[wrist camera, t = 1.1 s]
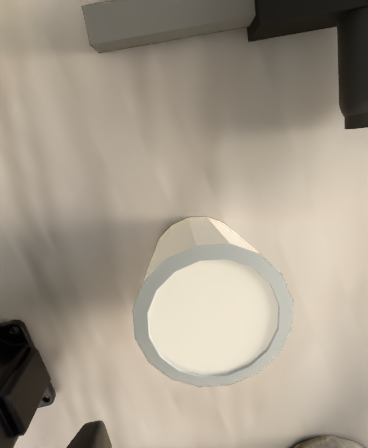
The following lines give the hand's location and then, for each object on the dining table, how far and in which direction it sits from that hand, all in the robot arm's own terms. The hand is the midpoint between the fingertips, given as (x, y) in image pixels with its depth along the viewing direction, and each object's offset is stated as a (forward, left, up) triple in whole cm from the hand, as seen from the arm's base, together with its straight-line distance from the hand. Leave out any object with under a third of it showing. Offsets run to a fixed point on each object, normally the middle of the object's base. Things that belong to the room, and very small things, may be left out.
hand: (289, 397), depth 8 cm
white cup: (-1, -1, -13) cm, 13 cm away
